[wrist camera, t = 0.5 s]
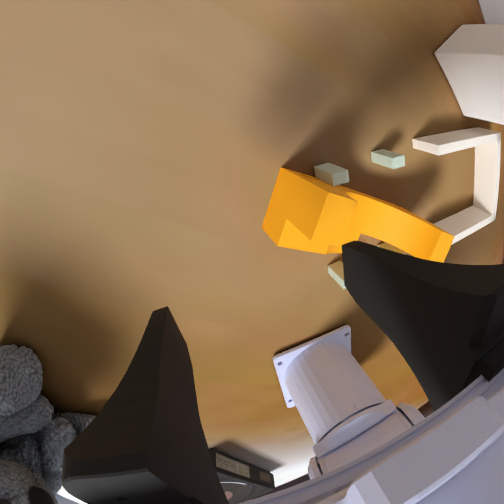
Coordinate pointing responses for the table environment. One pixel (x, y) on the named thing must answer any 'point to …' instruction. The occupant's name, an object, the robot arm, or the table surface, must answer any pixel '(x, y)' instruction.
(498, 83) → the milk carton
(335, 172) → the small blocks
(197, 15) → the table surface
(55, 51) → the table surface
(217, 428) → the table surface
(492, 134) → the end holder
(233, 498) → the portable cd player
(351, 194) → the pipe clamp
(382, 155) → the clips
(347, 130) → the table surface
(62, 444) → the koala plush
